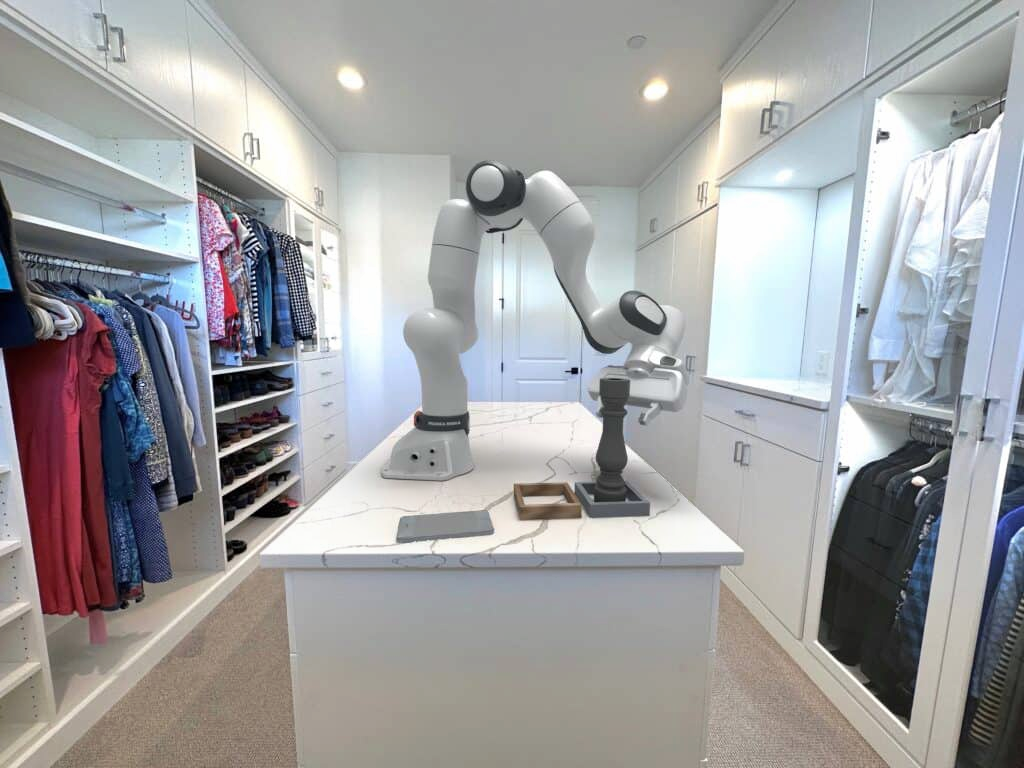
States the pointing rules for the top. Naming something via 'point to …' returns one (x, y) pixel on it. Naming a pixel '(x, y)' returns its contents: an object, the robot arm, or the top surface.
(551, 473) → the top surface
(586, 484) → the charcoal frame
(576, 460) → the top surface
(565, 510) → the walnut frame
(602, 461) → the candle holder
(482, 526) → the phone
